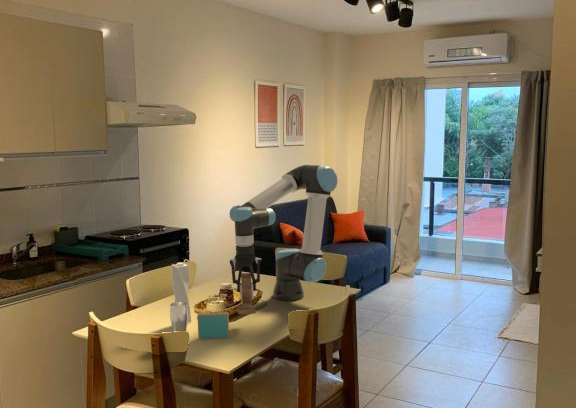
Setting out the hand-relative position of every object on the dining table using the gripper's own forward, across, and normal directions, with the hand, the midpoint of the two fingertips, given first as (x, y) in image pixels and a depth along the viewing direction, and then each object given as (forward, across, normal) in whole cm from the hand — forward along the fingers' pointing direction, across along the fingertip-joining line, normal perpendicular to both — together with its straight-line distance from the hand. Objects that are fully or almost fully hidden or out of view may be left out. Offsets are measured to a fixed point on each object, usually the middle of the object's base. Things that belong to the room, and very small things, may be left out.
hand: (247, 298), depth 237 cm
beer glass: (+10, -26, -18) cm, 33 cm away
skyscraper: (+11, -28, +2) cm, 29 cm away
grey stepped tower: (+2, 0, -6) cm, 6 cm away
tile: (+10, -14, -16) cm, 23 cm away
